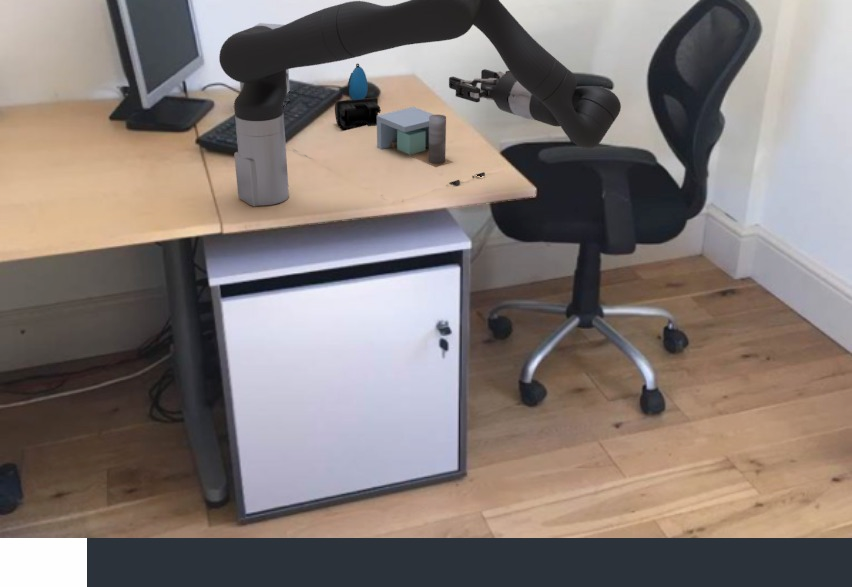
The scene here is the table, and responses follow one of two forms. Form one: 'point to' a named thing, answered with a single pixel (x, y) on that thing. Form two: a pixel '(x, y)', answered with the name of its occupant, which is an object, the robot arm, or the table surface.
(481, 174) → the lane
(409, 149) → the block
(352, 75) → the ornament
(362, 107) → the end cap
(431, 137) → the tray with upright handle
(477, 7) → the robot arm
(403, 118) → the open-front cubby
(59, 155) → the table surface
